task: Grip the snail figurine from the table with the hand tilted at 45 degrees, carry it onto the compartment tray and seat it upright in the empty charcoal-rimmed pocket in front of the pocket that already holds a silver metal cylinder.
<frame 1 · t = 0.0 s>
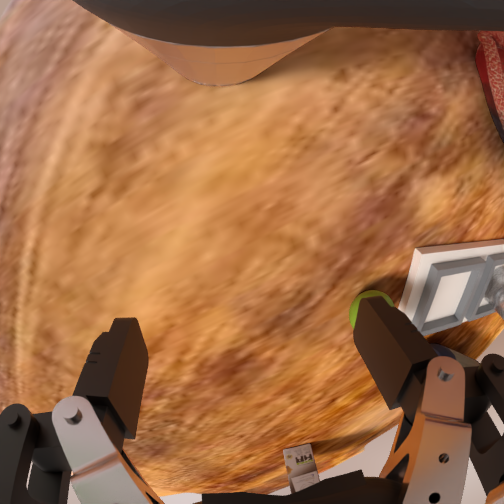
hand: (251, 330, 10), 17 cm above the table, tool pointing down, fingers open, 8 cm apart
compartment tray: (466, 282, 35), on the table
portable speaker: (436, 359, 44), on the table
snail figurine: (361, 301, 34), on the table
silver metal cylinder: (493, 282, 34), resting on compartment tray
coffee box: (297, 451, 55), on the table
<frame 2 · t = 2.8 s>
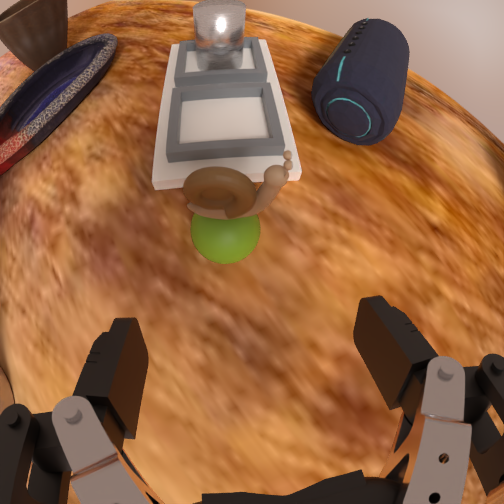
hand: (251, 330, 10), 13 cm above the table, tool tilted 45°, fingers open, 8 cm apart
dish: (49, 109, 32), on the table
plant pot: (50, 61, 37), on the table
compartment tray: (221, 97, 32), on the table
portable speaker: (357, 95, 34), on the table
snail figurine: (231, 242, 26), on the table
silver metal cylinder: (219, 62, 33), resting on compartment tray
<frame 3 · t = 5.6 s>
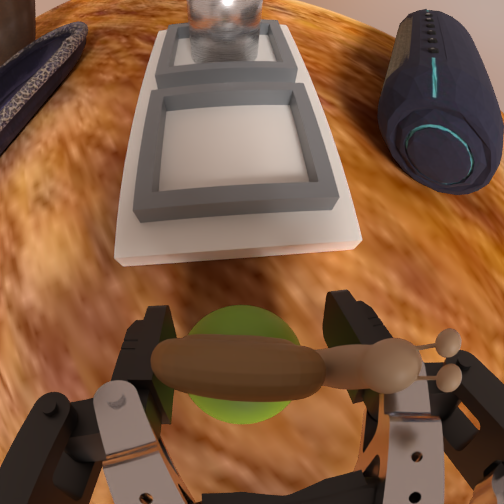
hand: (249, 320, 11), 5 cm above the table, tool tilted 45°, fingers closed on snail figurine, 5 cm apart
dish: (2, 125, 21), on the table
plant pot: (17, 61, 26), on the table
compartment tray: (227, 103, 21), on the table
portable speaker: (418, 111, 24), on the table
snail figurine: (249, 364, 15), on the table, touching gripper
silver metal cylinder: (224, 53, 22), resting on compartment tray
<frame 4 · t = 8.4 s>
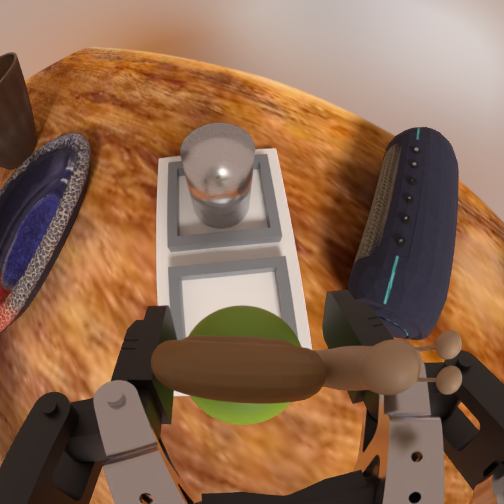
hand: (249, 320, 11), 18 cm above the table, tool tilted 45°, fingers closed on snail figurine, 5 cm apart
dish: (29, 243, 30), on the table
plant pot: (21, 152, 35), on the table
compartment tray: (226, 261, 30), on the table
portable speaker: (392, 238, 33), on the table
snail figurine: (250, 364, 15), point 13 cm above the table, touching gripper
silver metal cylinder: (221, 202, 31), resting on compartment tray
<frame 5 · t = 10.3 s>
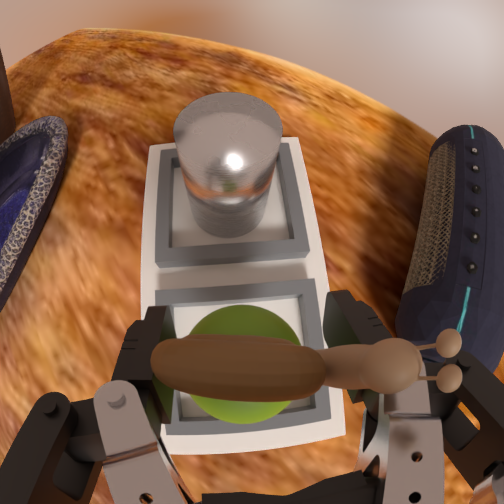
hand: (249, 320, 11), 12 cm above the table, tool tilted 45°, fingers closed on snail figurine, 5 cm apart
compartment tray: (233, 281, 23), on the table
portable speaker: (436, 255, 25), on the table
snail figurine: (250, 363, 15), point 6 cm above the table, touching gripper
silver metal cylinder: (228, 203, 23), resting on compartment tray
when the fingers open (8 cm above the table, at t = 11.6 s): snail figurine drops 1 cm, resting on compartment tray.
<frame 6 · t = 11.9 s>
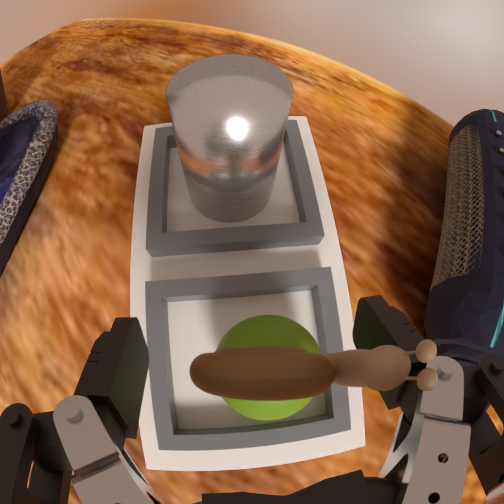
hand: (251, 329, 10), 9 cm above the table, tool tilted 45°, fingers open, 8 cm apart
compartment tray: (236, 272, 20), on the table
portable speaker: (460, 246, 22), on the table
snail figurine: (275, 365, 17), point 2 cm above the table, touching gripper, compartment tray
silver metal cylinder: (230, 184, 21), resting on compartment tray
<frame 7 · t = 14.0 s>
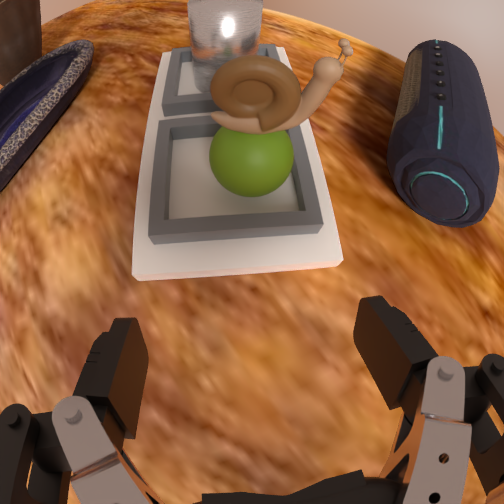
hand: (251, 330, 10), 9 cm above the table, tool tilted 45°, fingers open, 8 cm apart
dish: (14, 141, 24), on the table
plant pot: (24, 74, 29), on the table
compartment tray: (227, 130, 24), on the table
portable speaker: (422, 141, 27), on the table
snail figurine: (255, 180, 21), point 1 cm above the table, touching compartment tray
silver metal cylinder: (225, 79, 25), resting on compartment tray
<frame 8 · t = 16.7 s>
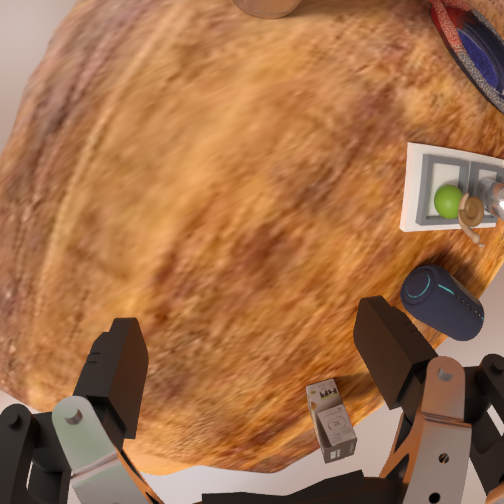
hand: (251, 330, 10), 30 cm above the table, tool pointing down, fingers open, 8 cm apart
dish: (475, 57, 31), on the table
compartment tray: (458, 189, 41), on the table
portable speaker: (434, 292, 51), on the table
snail figurine: (437, 199, 40), point 1 cm above the table, touching compartment tray
silver metal cylinder: (483, 192, 41), resting on compartment tray
coffee box: (320, 392, 59), on the table
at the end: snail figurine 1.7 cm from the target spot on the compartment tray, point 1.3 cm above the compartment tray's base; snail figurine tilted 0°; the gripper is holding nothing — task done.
